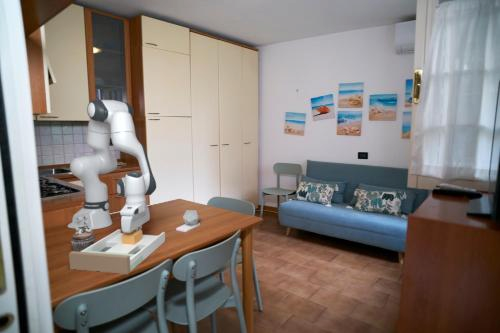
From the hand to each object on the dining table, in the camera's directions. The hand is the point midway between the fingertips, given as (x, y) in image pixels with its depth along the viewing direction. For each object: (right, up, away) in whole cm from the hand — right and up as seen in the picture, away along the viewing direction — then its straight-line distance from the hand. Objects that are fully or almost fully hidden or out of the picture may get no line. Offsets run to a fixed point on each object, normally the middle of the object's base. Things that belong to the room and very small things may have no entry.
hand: (137, 235), depth 149 cm
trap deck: (-2, -5, -12) cm, 13 cm away
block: (-1, -2, -5) cm, 5 cm away
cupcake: (-22, -5, -7) cm, 23 cm away
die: (+20, 0, +28) cm, 34 cm away
